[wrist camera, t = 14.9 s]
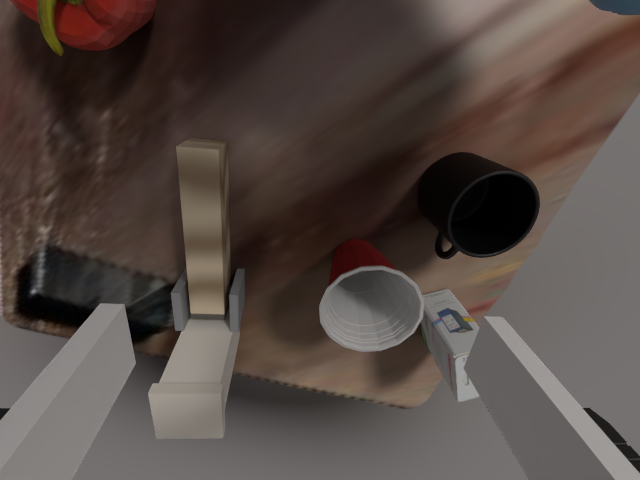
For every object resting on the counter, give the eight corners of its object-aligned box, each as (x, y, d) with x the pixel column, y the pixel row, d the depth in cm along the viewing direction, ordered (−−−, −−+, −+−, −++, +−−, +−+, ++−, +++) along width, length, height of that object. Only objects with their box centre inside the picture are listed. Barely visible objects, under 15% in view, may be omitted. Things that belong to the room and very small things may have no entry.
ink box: (415, 295, 48) (450, 357, 37) (450, 286, 47) (495, 346, 37) (421, 338, 51) (455, 405, 41) (454, 330, 51) (496, 396, 41)
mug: (393, 227, 43) (417, 262, 34) (441, 139, 38) (482, 155, 30) (453, 249, 45) (489, 287, 37) (506, 168, 40) (560, 191, 32)
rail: (190, 137, 36) (175, 146, 31) (227, 141, 36) (218, 149, 32) (201, 294, 45) (191, 318, 40) (231, 295, 45) (224, 319, 41)
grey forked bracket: (186, 266, 43) (136, 353, 29) (244, 268, 43) (223, 354, 30) (192, 336, 48) (152, 438, 34) (244, 337, 49) (226, 437, 35)
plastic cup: (318, 215, 41) (327, 264, 30) (401, 224, 42) (438, 273, 32) (307, 287, 46) (312, 352, 35) (382, 293, 47) (409, 356, 36)
